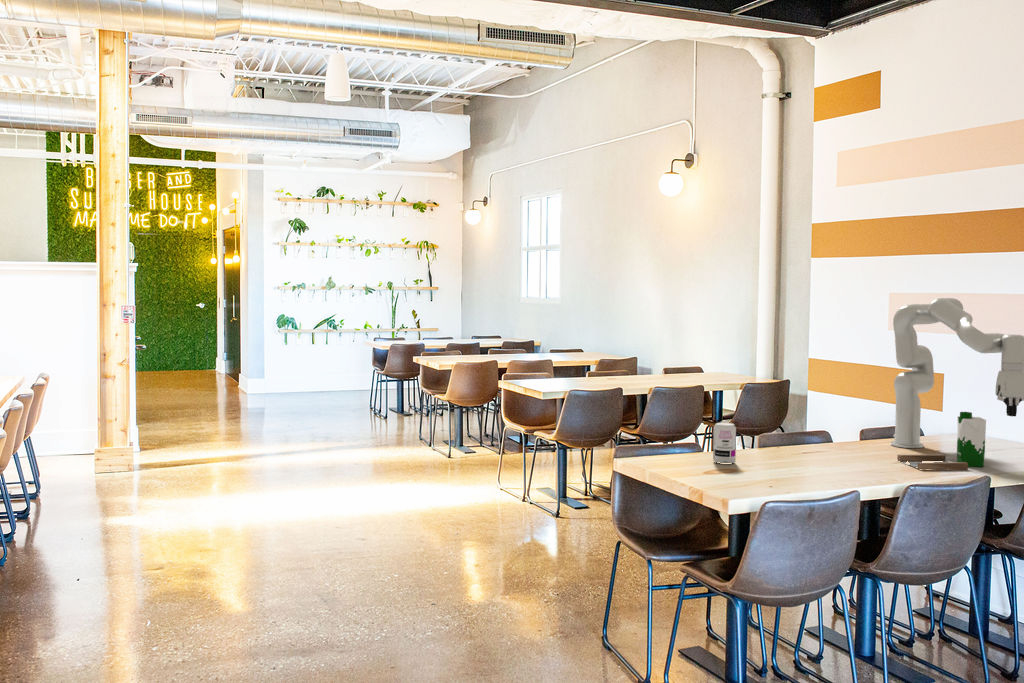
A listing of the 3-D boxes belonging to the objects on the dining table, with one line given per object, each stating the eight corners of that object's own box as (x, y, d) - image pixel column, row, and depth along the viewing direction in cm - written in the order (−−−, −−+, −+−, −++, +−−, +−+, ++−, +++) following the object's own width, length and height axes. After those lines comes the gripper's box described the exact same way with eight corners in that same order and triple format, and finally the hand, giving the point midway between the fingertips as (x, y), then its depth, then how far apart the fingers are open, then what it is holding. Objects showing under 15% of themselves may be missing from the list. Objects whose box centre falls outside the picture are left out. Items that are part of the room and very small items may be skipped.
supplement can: (727, 460, 331) (728, 421, 330) (739, 464, 323) (740, 425, 322) (709, 461, 328) (709, 422, 327) (720, 465, 320) (721, 426, 319)
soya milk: (953, 462, 328) (955, 410, 326) (979, 463, 326) (981, 411, 324) (960, 466, 319) (962, 413, 318) (987, 468, 317) (989, 414, 316)
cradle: (897, 461, 329) (897, 454, 329) (942, 460, 330) (942, 454, 330) (920, 470, 313) (920, 463, 313) (967, 469, 314) (967, 463, 314)
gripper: (1025, 366, 325) (1024, 414, 326) (987, 366, 324) (986, 414, 325) (1038, 368, 317) (1037, 417, 318) (999, 368, 317) (998, 417, 318)
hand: (1011, 415), depth 322 cm, fingers closed
